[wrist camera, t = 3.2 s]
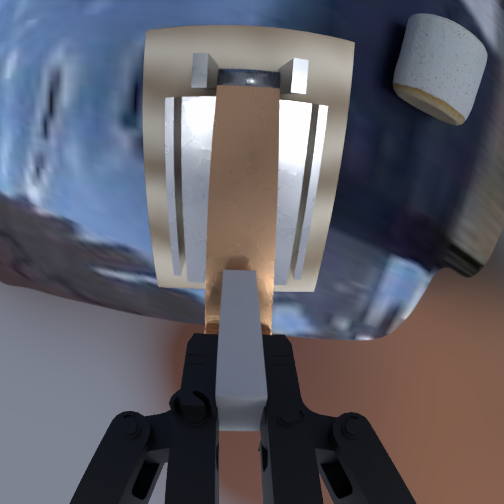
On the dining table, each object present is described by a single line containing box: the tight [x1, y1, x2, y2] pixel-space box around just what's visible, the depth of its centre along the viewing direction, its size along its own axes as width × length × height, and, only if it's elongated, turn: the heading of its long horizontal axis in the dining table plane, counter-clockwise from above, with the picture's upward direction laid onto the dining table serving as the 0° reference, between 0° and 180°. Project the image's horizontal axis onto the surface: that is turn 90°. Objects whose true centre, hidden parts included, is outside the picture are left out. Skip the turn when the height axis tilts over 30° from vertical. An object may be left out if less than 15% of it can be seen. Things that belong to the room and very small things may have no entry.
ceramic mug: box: [393, 14, 487, 125], centre depth 15 cm, size 11×8×8 cm
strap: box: [204, 68, 281, 335], centre depth 14 cm, size 17×4×2 cm, turn 176°
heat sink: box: [165, 53, 328, 285], centre depth 20 cm, size 20×11×6 cm, turn 176°
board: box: [143, 25, 355, 292], centre depth 22 cm, size 24×16×2 cm, turn 176°
